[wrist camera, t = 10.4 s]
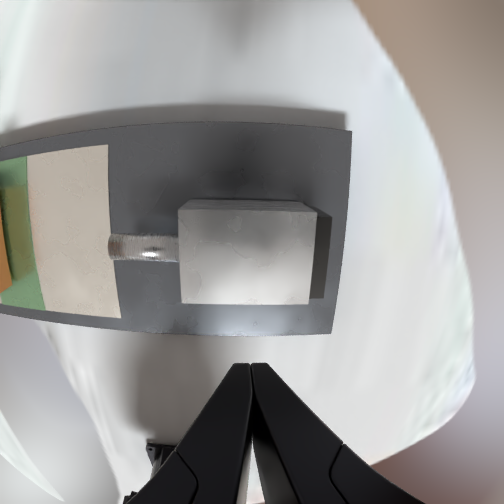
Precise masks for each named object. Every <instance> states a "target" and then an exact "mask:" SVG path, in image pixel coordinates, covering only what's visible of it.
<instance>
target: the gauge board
mask: <svg viewBox="0 0 504 504" xmlns="http://www.w3.org/2000/svg"><path fill="white" fill-rule="evenodd" d="M351 146H352V131H346V130H338V129H330V128H321V127H311V126H301V125H288V124H273V123H252V122H180V123H160V124H145V125H132V126H122V127H112V128H104V129H96V130H89V131H82V132H75V133H69V134H63V135H57V136H52V137H47V138H42V139H37V140H32V141H27V142H23V143H19V144H14V145H10V146H6V147H2V148H0V208H1V219H2V228H3V235H4V242H5V249H6V255H7V260H8V266H9V271H10V276H11V280H12V286H10V287H9V288H7V289H6V290H4V291H3V292H1V293H0V313H2V314H7V315H13V316H18V317H24V318H30V319H36V320H42V321H49V322H55V323H62V324H70V325H78V326H86V327H95V328H104V329H114V330H125V331H137V332H151V333H166V334H186V335H216V336H285V335H315V334H331V331H332V326H333V320H334V314H335V308H336V301H337V295H338V288H339V281H340V274H341V266H342V258H343V249H344V241H345V231H346V221H347V210H348V198H349V184H350V167H351ZM190 199H207V200H263V201H291V202H301V203H303V204H304V205H306V206H312V207H316V208H318V209H320V210H321V211H323V212H325V213H326V214H328V215H330V216H332V228H331V239H330V249H329V258H328V267H327V276H326V284H325V292H324V298H321V299H309V303H308V304H293V305H236V304H190V303H182V299H181V282H180V262H179V261H135V260H111V259H110V257H109V254H108V240H109V237H110V235H111V234H112V233H172V234H178V209H179V208H180V207H182V206H183V205H184V204H185V203H187V202H188V201H189V200H190Z"/></svg>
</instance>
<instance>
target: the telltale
mask: <svg viewBox="0 0 504 504" xmlns="http://www.w3.org/2000/svg"><path fill="white" fill-rule="evenodd" d="M10 286H12V280H11V276H10V271H9V266H8V260H7V255H6V249H5V242H4V235H3V228H2V219H1V208H0V293H1V292H3V291H4V290H6V289H7V288H9V287H10Z"/></svg>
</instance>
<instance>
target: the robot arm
mask: <svg viewBox="0 0 504 504" xmlns="http://www.w3.org/2000/svg"><path fill="white" fill-rule="evenodd" d="M252 441H253V448H254V453H255V458H256V463H257V468H258V472H259V477H260V482H261V486H262V491H263V495H264V500H265V504H425V503H423V502H422V501H420V500H419V499H417V498H415V497H414V496H412V495H411V494H409V493H407V492H406V491H404V490H403V489H401V488H400V487H398V486H397V485H395V484H394V483H392V482H391V481H389V480H388V479H386V478H385V477H384V476H382V475H381V474H379V473H378V472H377V471H376V470H374V469H373V468H372V467H370V466H369V465H368V464H367V463H366V462H365V461H363V460H362V459H361V458H360V457H359V456H358V455H357V454H355V453H354V452H353V451H352V450H351V449H350V448H349V447H348V446H347V445H346V444H343V441H342V440H341V439H340V438H339V437H338V436H337V435H336V434H335V433H334V432H333V431H332V430H331V429H330V428H329V427H328V426H327V425H326V424H325V423H324V422H323V421H322V420H321V419H320V418H319V417H318V416H317V415H316V414H315V413H314V412H313V411H312V410H311V409H310V408H309V407H308V406H307V405H306V404H305V403H304V402H303V401H302V400H301V399H300V398H299V397H298V396H297V395H296V394H295V393H294V392H293V390H292V389H291V388H290V387H289V386H288V385H287V384H286V383H285V382H284V381H283V380H282V379H281V378H280V377H279V375H278V374H277V373H276V372H275V371H274V370H273V369H272V368H271V367H270V366H269V365H268V364H267V363H252V364H251V365H250V364H249V363H234V364H233V365H232V367H231V368H230V370H229V371H228V373H227V374H226V376H225V377H224V379H223V380H222V382H221V383H220V385H219V386H218V387H217V389H216V390H215V392H214V393H213V395H212V396H211V398H210V399H209V401H208V402H207V404H206V405H205V406H204V408H203V409H202V411H201V412H200V414H199V415H198V417H197V418H196V419H195V421H194V422H193V424H192V425H191V427H190V428H189V429H188V431H187V432H186V434H185V435H184V436H183V438H182V439H181V441H180V442H179V443H178V445H177V446H176V447H175V446H165V445H156V444H147V445H146V451H147V453H148V456H149V459H150V461H151V464H152V466H153V468H152V473H151V478H150V480H149V481H148V482H147V483H146V485H145V486H144V487H143V488H142V489H141V490H140V491H139V492H138V493H137V492H134V491H132V492H131V495H130V496H125V497H124V501H123V504H246V498H247V488H248V479H249V469H250V459H251V448H252Z"/></svg>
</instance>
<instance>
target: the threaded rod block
mask: <svg viewBox="0 0 504 504" xmlns="http://www.w3.org/2000/svg"><path fill="white" fill-rule="evenodd" d="M331 228H332V216H330V215H328V214H326V213H325V212H323V211H321V210H320V209H318V208H316V207H312V206H306V205H304V204H303V203H301V202H291V201H263V200H207V199H190V200H189V201H188V202H187V203H185V204H184V205H183V206H182V207H180V208H179V209H178V234H172V233H112V234H111V235H110V237H109V240H108V254H109V257H110V259H111V260H135V261H179V262H180V282H181V299H182V303H190V304H236V305H293V304H308V303H309V299H321V298H324V292H325V284H326V276H327V267H328V258H329V249H330V239H331Z"/></svg>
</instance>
